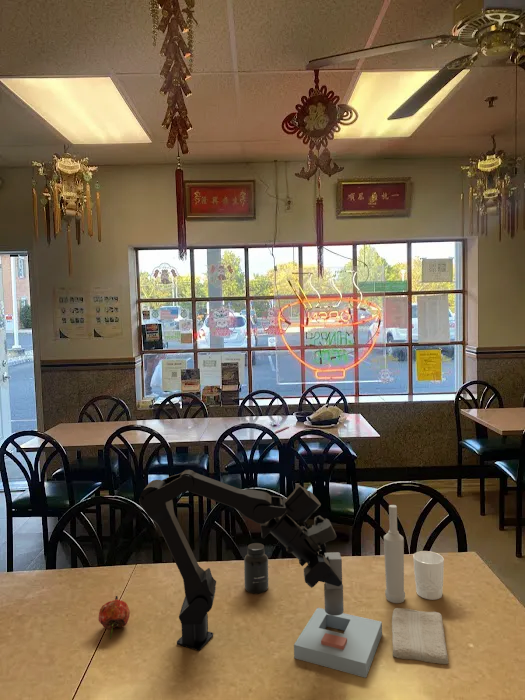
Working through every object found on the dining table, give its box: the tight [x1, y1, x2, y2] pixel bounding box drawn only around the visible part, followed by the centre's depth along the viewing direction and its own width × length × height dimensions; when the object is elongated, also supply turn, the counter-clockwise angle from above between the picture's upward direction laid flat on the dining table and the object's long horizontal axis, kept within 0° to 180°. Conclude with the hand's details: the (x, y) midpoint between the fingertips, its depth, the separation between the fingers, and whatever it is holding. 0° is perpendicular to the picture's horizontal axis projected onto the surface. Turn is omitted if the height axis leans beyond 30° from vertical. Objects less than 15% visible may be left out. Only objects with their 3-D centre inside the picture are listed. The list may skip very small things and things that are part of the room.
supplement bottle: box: [243, 542, 269, 594], centre depth 138 cm, size 7×7×12 cm
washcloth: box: [391, 607, 449, 665], centre depth 113 cm, size 12×18×3 cm, turn 166°
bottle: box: [383, 504, 406, 604], centre depth 130 cm, size 5×5×25 cm
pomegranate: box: [98, 595, 131, 640], centre depth 120 cm, size 7×7×10 cm
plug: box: [323, 551, 345, 616], centre depth 114 cm, size 4×4×13 cm
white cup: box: [412, 550, 445, 601], centre depth 132 cm, size 8×8×10 cm
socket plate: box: [293, 607, 383, 679], centre depth 111 cm, size 16×16×4 cm
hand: (339, 580), depth 114 cm, fingers closed on plug, 4 cm apart
